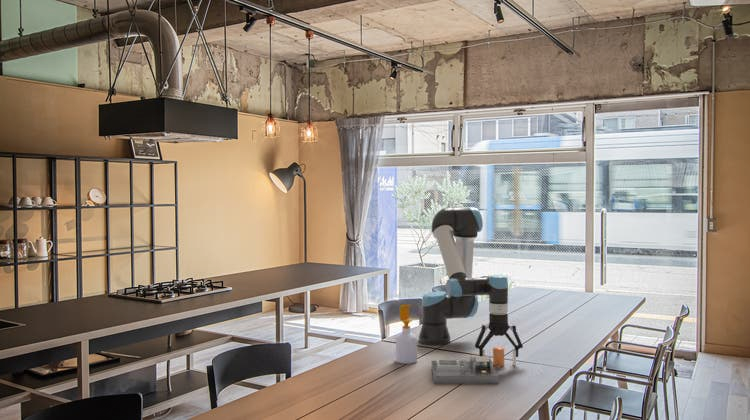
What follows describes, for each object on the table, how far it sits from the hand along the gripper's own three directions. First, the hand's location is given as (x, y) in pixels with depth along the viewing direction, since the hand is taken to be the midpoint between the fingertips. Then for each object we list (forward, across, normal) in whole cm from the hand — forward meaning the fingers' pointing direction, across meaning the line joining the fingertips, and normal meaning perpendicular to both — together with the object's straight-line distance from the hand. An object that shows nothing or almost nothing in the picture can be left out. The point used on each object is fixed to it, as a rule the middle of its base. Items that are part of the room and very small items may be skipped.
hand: (498, 364), depth 255 cm
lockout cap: (0, 0, 0) cm, 0 cm away
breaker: (-6, -9, -13) cm, 17 cm away
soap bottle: (0, -38, +6) cm, 38 cm away
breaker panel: (0, -16, -14) cm, 21 cm away
